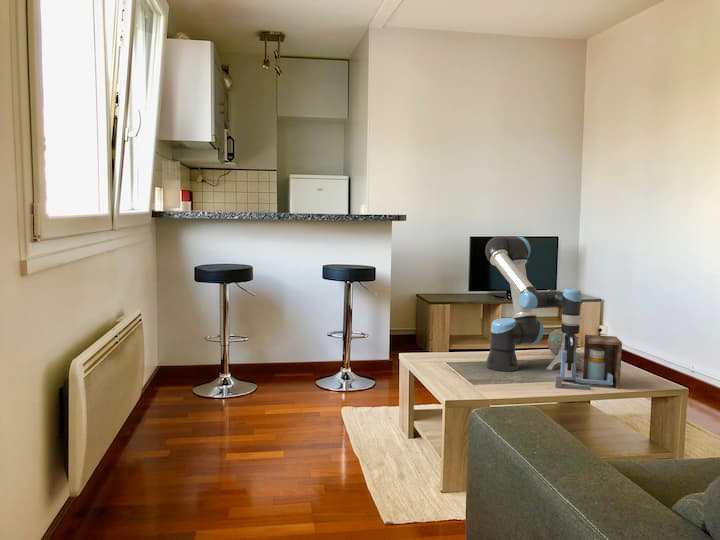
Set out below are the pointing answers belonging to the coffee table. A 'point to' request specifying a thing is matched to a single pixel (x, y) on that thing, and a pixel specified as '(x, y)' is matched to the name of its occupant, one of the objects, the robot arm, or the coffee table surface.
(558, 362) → the eiffel tower
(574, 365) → the pale blue bracket stand
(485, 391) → the coffee table surface
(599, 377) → the bottle
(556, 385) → the grey long bar
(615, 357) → the cubby
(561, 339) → the decorative sphere
